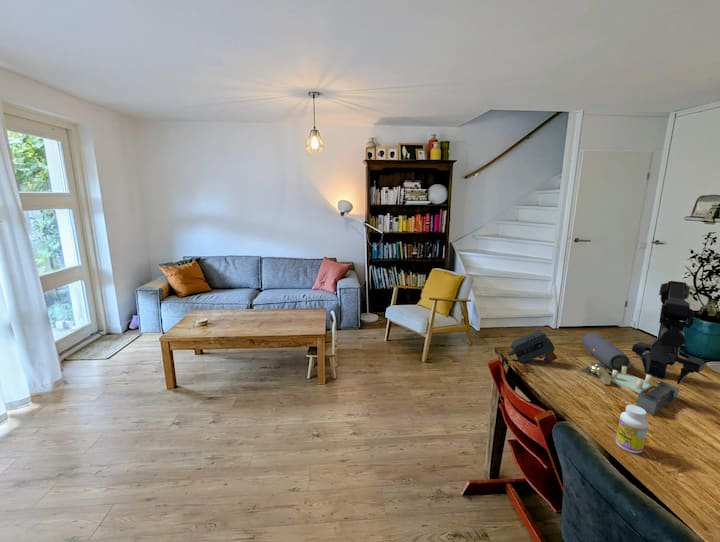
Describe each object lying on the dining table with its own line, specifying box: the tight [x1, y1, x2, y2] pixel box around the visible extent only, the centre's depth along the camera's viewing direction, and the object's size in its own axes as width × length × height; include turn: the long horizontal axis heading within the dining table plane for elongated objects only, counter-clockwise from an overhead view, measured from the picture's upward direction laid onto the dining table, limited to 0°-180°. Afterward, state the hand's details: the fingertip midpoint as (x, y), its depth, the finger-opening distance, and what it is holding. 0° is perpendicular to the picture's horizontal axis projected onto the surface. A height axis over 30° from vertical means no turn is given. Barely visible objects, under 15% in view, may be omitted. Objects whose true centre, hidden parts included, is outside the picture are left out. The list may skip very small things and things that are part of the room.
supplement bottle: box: [615, 404, 649, 454], centre depth 101 cm, size 7×7×13 cm
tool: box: [507, 330, 558, 364], centre depth 154 cm, size 6×19×15 cm, turn 78°
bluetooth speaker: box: [581, 332, 631, 373], centre depth 153 cm, size 23×9×10 cm, turn 172°
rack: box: [610, 365, 654, 394], centre depth 136 cm, size 11×11×4 cm
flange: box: [580, 366, 613, 380], centre depth 145 cm, size 9×9×1 cm
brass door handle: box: [588, 362, 612, 385], centre depth 141 cm, size 14×6×4 cm, turn 163°
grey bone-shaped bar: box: [635, 381, 680, 416], centre depth 123 cm, size 19×5×5 cm, turn 119°
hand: (661, 377), depth 121 cm, fingers open, 9 cm apart
